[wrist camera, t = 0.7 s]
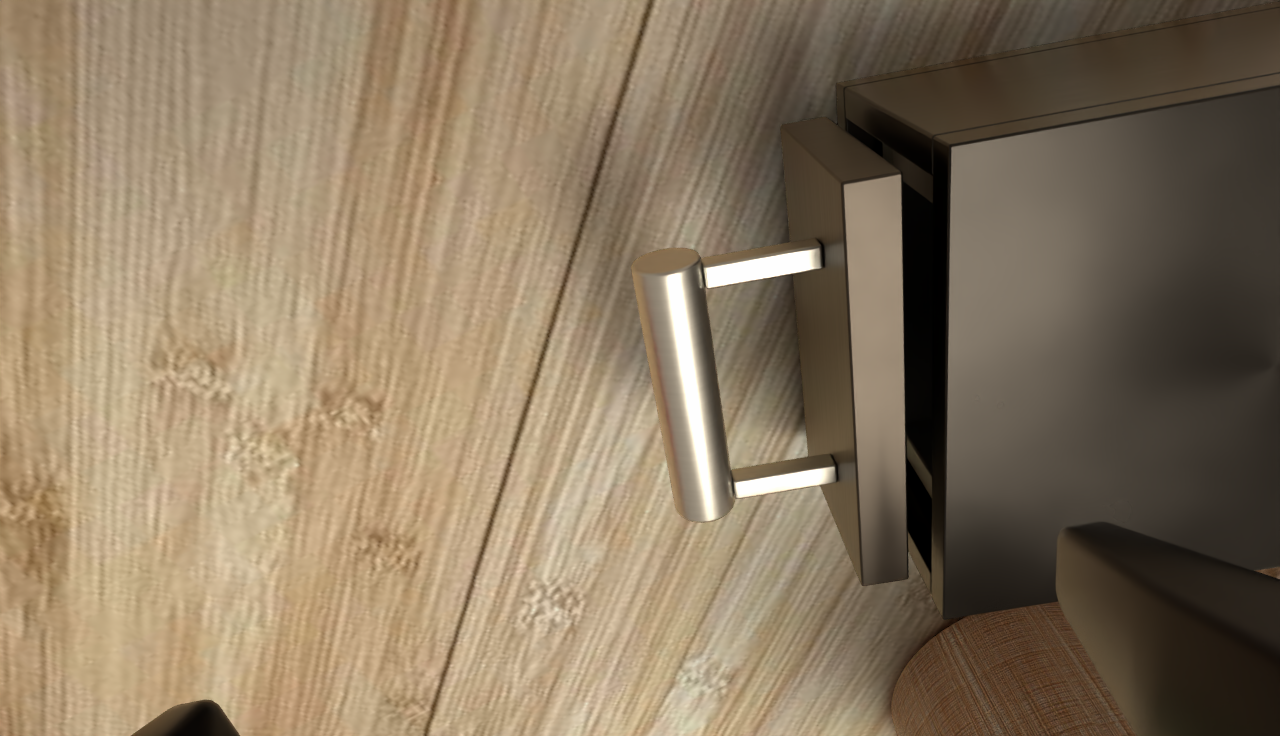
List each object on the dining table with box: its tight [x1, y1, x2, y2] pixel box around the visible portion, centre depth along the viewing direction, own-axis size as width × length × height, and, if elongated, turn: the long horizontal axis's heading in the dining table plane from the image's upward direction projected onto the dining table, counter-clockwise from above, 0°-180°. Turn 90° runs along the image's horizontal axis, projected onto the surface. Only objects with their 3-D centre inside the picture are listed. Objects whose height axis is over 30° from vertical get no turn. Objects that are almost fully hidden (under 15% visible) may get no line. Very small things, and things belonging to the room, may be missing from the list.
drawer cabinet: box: [836, 1, 1280, 619], centre depth 20 cm, size 14×12×8 cm
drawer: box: [631, 117, 933, 586], centre depth 20 cm, size 17×10×6 cm, turn 100°
